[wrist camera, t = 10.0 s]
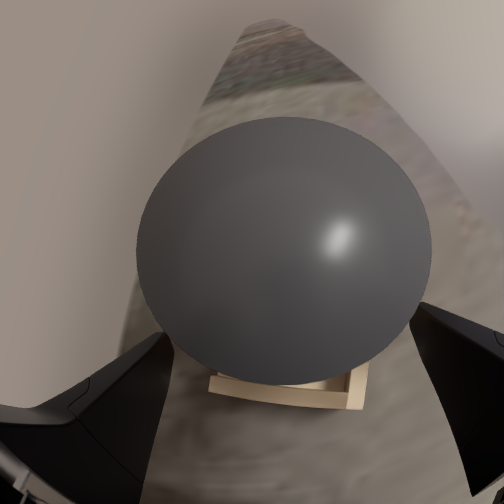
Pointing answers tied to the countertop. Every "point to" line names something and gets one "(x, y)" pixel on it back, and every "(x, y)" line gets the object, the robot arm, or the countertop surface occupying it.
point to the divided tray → (300, 390)
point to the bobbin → (284, 251)
